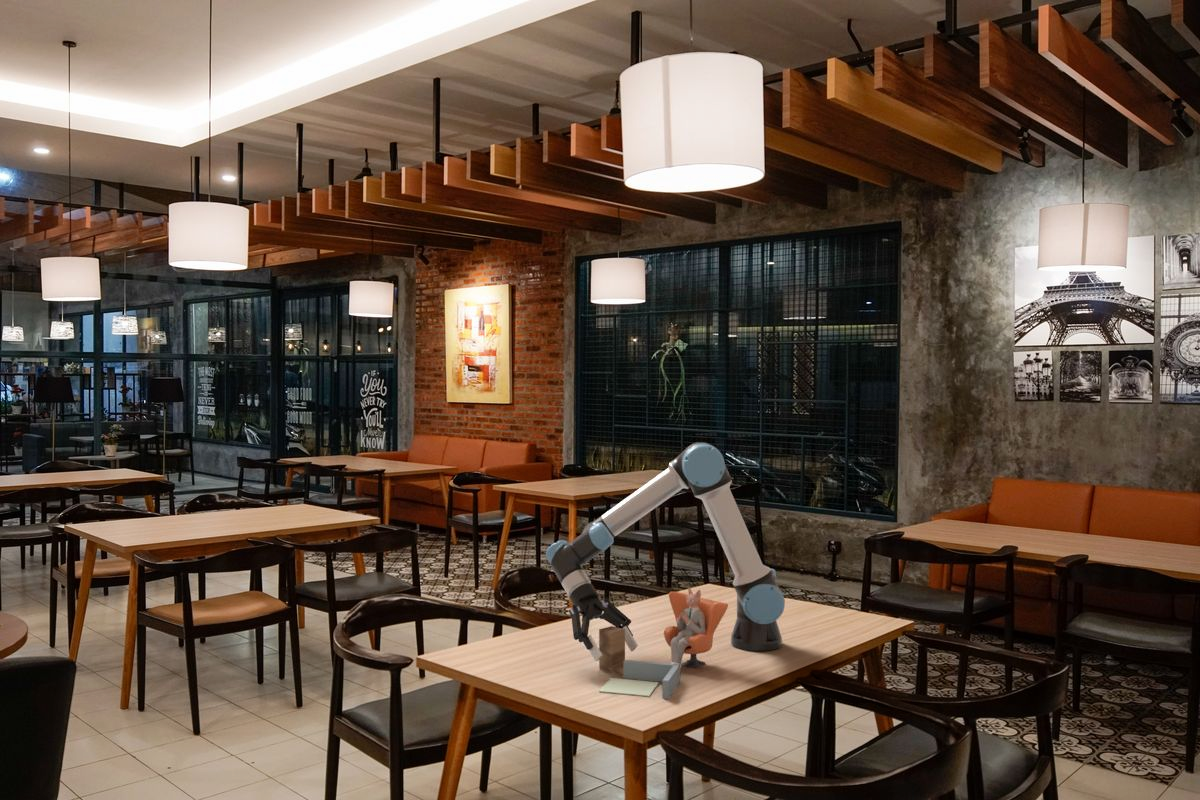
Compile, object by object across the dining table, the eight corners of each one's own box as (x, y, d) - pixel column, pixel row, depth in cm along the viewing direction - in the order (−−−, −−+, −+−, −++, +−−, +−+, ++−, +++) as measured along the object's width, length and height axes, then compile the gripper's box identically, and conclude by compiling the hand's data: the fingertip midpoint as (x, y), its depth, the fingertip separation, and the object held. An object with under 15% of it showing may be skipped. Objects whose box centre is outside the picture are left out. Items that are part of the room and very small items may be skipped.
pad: (658, 683, 241) (658, 682, 241) (649, 696, 230) (649, 695, 230) (610, 679, 244) (610, 678, 244) (599, 692, 234) (599, 690, 234)
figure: (635, 664, 258) (635, 588, 258) (681, 652, 270) (681, 579, 270) (691, 682, 241) (691, 601, 241) (738, 669, 253) (737, 592, 253)
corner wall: (680, 681, 242) (680, 664, 242) (668, 698, 229) (668, 680, 229) (624, 676, 247) (624, 659, 247) (610, 693, 233) (610, 675, 233)
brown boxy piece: (636, 673, 250) (636, 632, 250) (623, 676, 246) (623, 635, 246) (612, 665, 257) (612, 626, 257) (599, 669, 253) (599, 629, 253)
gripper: (605, 591, 273) (642, 652, 262) (540, 604, 256) (576, 670, 245) (617, 575, 269) (655, 637, 258) (552, 588, 252) (590, 654, 241)
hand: (617, 653), depth 252 cm, fingers open, 13 cm apart
